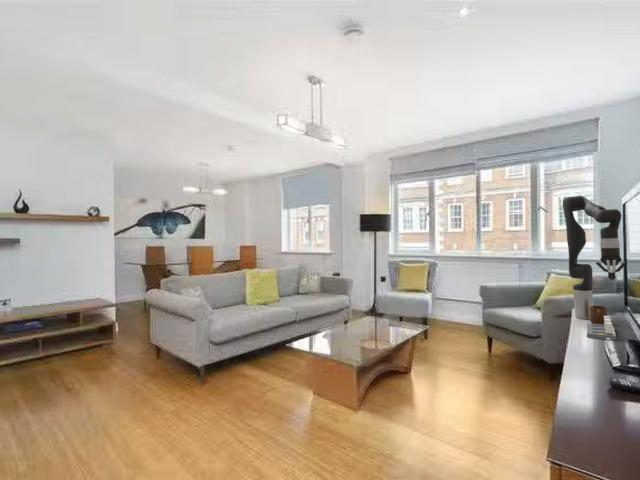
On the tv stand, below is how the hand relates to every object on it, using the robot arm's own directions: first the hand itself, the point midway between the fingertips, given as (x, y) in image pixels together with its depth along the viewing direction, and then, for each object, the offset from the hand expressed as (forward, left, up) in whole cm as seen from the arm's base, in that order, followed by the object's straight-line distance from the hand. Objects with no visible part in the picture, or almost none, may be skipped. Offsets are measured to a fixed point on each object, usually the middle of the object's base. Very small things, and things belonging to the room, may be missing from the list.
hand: (612, 279), depth 177 cm
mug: (-14, -3, -27) cm, 31 cm away
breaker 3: (+16, -7, -25) cm, 30 cm away
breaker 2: (+8, -5, -25) cm, 26 cm away
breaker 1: (0, -3, -25) cm, 25 cm away
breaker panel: (+7, -8, -27) cm, 29 cm away
